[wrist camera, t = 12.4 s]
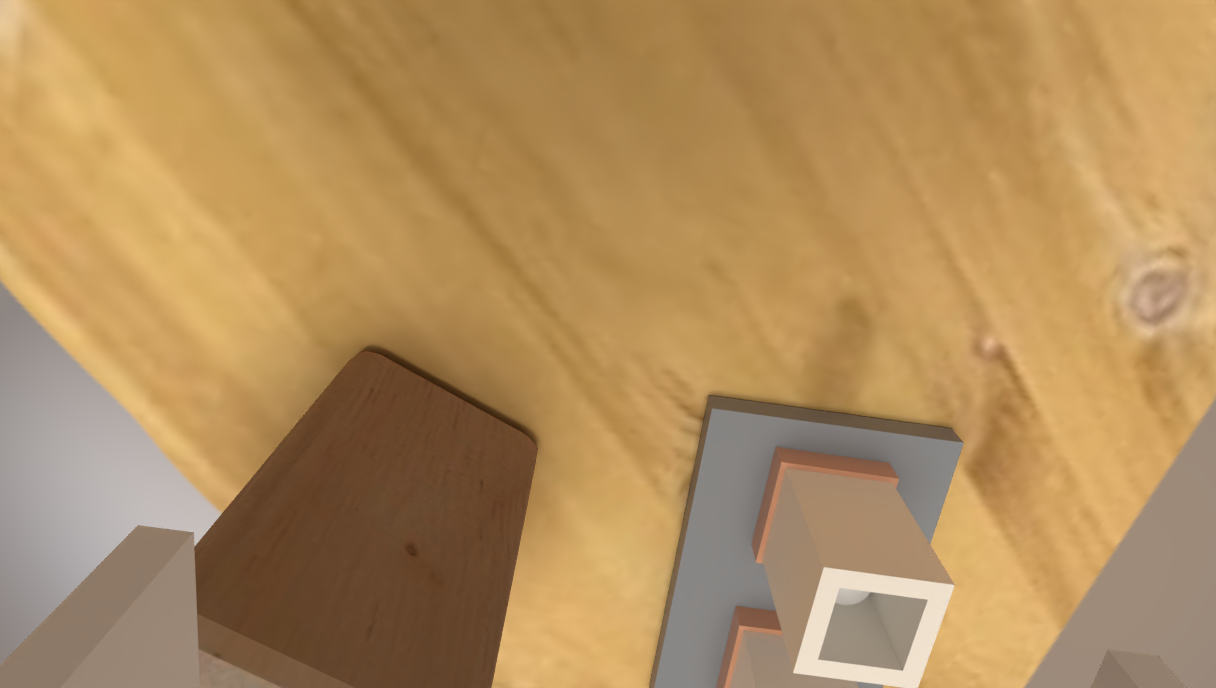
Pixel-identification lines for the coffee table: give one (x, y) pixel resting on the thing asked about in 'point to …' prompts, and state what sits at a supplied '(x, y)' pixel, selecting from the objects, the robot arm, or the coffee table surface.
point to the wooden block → (368, 544)
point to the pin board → (729, 507)
